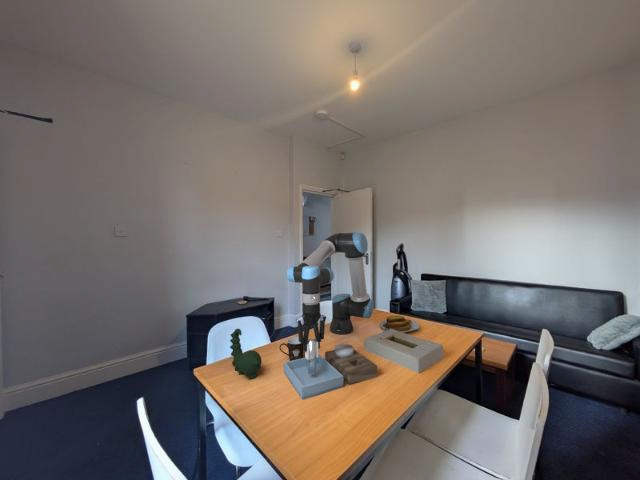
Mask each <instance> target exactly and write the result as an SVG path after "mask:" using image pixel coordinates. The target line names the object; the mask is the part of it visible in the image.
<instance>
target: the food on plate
mask: <svg viewBox="0 0 640 480" xmlns="http://www.w3.org/2000/svg"><path fill="white" fill-rule="evenodd" d="M379 325H380V328H381V329H383V330H385V331H387V330H389V329H394V330H397V331H399V332H402V333H405V334H406V333H408V332H413V331H415V330H417V331H418V330H419V328H420V327H421V325H420V324H419V323H418V322H417V321H414V320H411V319H407V318H405V316H400V315H390V316H388V317H386V320H383V321H381V322H380V323H379Z"/></svg>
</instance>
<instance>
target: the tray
mask: <svg viewBox="0 0 640 480" xmlns="http://www.w3.org/2000/svg"><path fill="white" fill-rule="evenodd" d="M283 374H284V376H285V377H286V378H287V380H288V381H289V383H290V384H291V385H292V387H293V388H294V391H296V393H297V394H298V396H299V397H300V399H301V400H302V401H303V400H306V399H309V398H314V397H317V396H319V395H322V394H326V393H328V392H332V391H335V390H339V389H342V388H344V379H343V375H342V374H340V373H339V372H338V371H337V370H336V369H335V368H334V367H333V366H332V365H331V364H330V363H328V362H327V361H326V360H325V357H323V355H321V354H319V353H318V358H316V374H314V375H310V374H308V360H307V359H306V358H305V357H303V358H301V359H297V360H292V361H290V360H288V361H284V362H283Z"/></svg>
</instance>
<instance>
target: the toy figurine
mask: <svg viewBox="0 0 640 480" xmlns="http://www.w3.org/2000/svg"><path fill="white" fill-rule="evenodd" d="M240 336H242V329H241V328H236V329H235V330H234V331H233V332H232V333H231V334H230V337H231V339H230V340H229V342H230V343H231V345H230V346H229V347H230V349H231V350H232V351H231V353H230V356H231V357H233V360H232V361H231V364H232V366H234V371H237V373H238V374H239V375H241V374H243V373H244V374H245V375H246V377H247V378H248V379H249V380H252V379H254V378H256V377H257V376H258V371H259V370H260V369H261V368H262V356H261V354H260V353H258V351H255V350H247V351H245V352H244V353H243V349H242V345H241V339H240Z"/></svg>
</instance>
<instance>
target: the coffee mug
mask: <svg viewBox="0 0 640 480" xmlns="http://www.w3.org/2000/svg"><path fill="white" fill-rule="evenodd" d="M286 342H287V343H281V344H280V345H279V350H280V352H282V353H283V354H285V355H286V356H288V361H292V360H297V359H301V358H304V352H305V351H304V350H303V344H301V343H300V342H299V337H298V336H293V337H290V338H288V339H287V340H286ZM282 346H285V347H286V348H287V352H285V351H284V350H282V348H281V347H282Z"/></svg>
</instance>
